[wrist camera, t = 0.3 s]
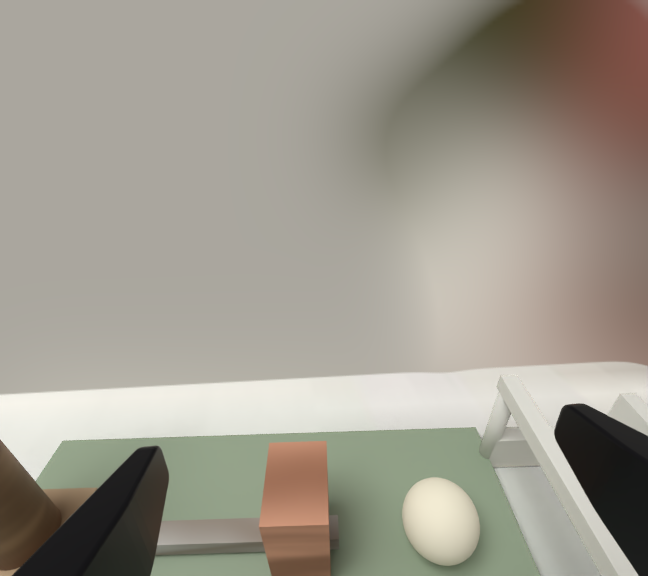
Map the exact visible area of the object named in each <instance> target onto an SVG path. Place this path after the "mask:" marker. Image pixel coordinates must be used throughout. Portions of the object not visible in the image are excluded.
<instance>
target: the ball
mask: <svg viewBox="0 0 648 576" xmlns="http://www.w3.org/2000/svg"><path fill="white" fill-rule="evenodd" d="M402 520H403V526H404V530H405V532H406V535H407V537H408V539H409V541H410V543H411V544H412V546H413V547H414V548H415V550H416V551H417V552H418V553H419V554H420V555H422V556H423V557H424V558H425V559H427V560H429V561H430V562H433V563H435V564H438V565H443V566H452V565H457V564H460V563H462V562H464V561H465V560H466V559H468V558H469V557H470V556H471V555H472V553H473V552H474V550H475V549H476V547H477V544H478V541H479V537H480V522H479V517H478V513H477V510H476V508H475V506H474V504H473V502H472V500H471V499H470V497H469V496H468V495H467V493H466V492H465V491H464V490H463V489H462V488H460V487H459V486H458V485H456V484H455V483H453V482H451V481H449V480H447V479H443V478H438V477H431V478H426V479H423V480H420V481H419V482H417V483H416V484H415V485H413V486H412V487H411V489H410V490H409V491H408V493H407V495H406V497H405V499H404V503H403V508H402Z"/></svg>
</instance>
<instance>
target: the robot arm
mask: <svg viewBox="0 0 648 576" xmlns="http://www.w3.org/2000/svg"><path fill="white" fill-rule="evenodd" d="M554 436H555V439H556V442H557V444H558V445H559V447H560V449H561V451H562V453H563V454H564V456H565V458H566V460H567V462H568V463H569V465H570V467H571V469H572V471H573V472H574V474H575V476H576V478H577V480H578V481H579V483H580V485H581V487H582V489H583V490H584V492H585V494H586V496H587V498H588V499H589V501H590V503H591V504H592V506H593V508H594V509H595V511H596V513H597V514H598V516H599V517H600V519H601V520H602V522H603V523H604V525H605V526H606V528H607V529H608V531H609V532H610V534H611V535H612V537H613V538H614V540H615V541H616V543H617V544H618V546H619V547H620V549H621V550H622V552H623V553H624V555H625V556H626V558H627V559H628V561H629V562H630V564H631V565H632V567H633V568H634V570H635V571H636V573H637V574H638V576H648V436H647V435H645V434H643V433H641V432H639V431H637V430H635V429H633V428H631V427H629V426H627V425H625V424H623V423H621V422H619V421H617V420H615V419H613V418H611V417H609V416H607V415H605V414H604V413H602V412H600V411H598V410H596V409H594V408H592V407H590V406H588V405H585V404H569V405H565V406H564V407H563V408H562V409H561V412H560V415H559V418H558V420H557V423H556V426H555V429H554ZM168 484H169V471H168V468H167V464H166V461H165V458H164V455H163V451H162V449H161V447H160V446H157V445H155V446H145V447H140V448H138V449H136V450H135V451H134V452H133V453H132V454H131V455H130V456H129V457H128V458H127V459H126V460H125V461H124V462H123V463H122V464H121V465H120V466H119V467H118V468H117V469H116V470H115V471H114V472H113V473H112V474H111V476H110V477H109V478H108V479H107V480H106V481H105V482H104V483H103V484H102V485H101V486H100V487H99V488H98V489H97V490H96V491H95V492H94V493H93V494H92V495H91V496H90V497H89V498H88V499H87V500H86V501H85V502H84V503H83V504H82V505H81V506H80V507H79V508H78V509H77V510H76V511H75V512H74V513H73V514H72V515H71V516H70V517H69V518H68V519H67V520H66V521H65V522H64V523H63V524H62V525H61V526H60V527H59V528H58V529H57V530H56V531H55V532H54V533H53V534H52V535H51V536H50V537H49V538H48V539H47V540H46V541H45V542H44V543H43V544H42V545H41V546H40V547H39V548H38V549H37V550H36V551H35V552H34V554H33V555H32V556H31V557H30V558H29V559H28V560H27V561H26V562H25V563H24V564H23V565H22V566H21V567H20V568H19V569H18V570H17V571H16V572H15V573H14V574H13V575H12V576H150V575H151V572H152V568H153V564H154V559H155V554H156V549H157V543H158V538H159V533H160V527H161V522H162V516H163V511H164V506H165V500H166V495H167V489H168Z"/></svg>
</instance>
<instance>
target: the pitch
mask: <svg viewBox="0 0 648 576" xmlns="http://www.w3.org/2000/svg"><path fill="white" fill-rule="evenodd" d="M497 389H498V390H499V393H498V396H497V398H496V401H495V404H494V407H493V410H492V413H491V416H490V419H489V422H488V424H487V427H486V430H485V433H484V436H483V439H482V441H481V439H480V436H479V434H478V432H477V429H476V427H471V428H440V429H410V430H379V431H348V432H318V433H287V434H256V435H226V436H195V437H164V438H134V439H103V440H72V441H62V443H61V444H60V446H59V447H58V449H57V450H56V452H55V453H54V455H53V456H52V458H51V459H50V461H49V462H48V464H47V465H46V467H45V468H44V470H43V471H42V473H41V474H40V476H39V477H38V478H37V480H36V481H35V482H36V483H37V484H38V485H39V486H40V488H41V489H67V488H99V487H100V486H101V485H102V484H103V483H104V482H105V481H106V480H107V479H108V478H109V477H110V476H111V474H112V473H113V472H114V471H115V470H116V469H117V468H118V467H119V466H120V465H121V464H122V463H123V462H124V461H125V460H126V459H127V458H128V457H129V456H130V455H131V454H132V453H133V452H134V451H135V450H136V449H138V448H140V447H145V446H155V445H157V446H160V447H161V449H162V451H163V455H164V458H165V461H166V464H167V468H168V471H169V484H168V489H167V495H166V500H165V506H164V511H163V516H162V521H173V520H203V519H234V518H260V514H261V506H262V498H263V489H264V481H265V473H266V465H267V457H268V449H269V443H277V442H308V441H326V442H327V468H328V495H329V515H338V528H339V549H332V550H330V564H331V576H540V574H539V571H538V569H537V567H536V565H535V562H534V560H533V558H532V555H531V553H530V551H529V549H528V546H527V544H526V542H525V539H524V537H523V535H522V532H521V530H520V528H519V526H518V523H517V521H516V519H515V516H514V514H513V512H512V510H511V507H510V505H509V503H508V500H507V498H506V496H505V494H504V491H503V489H502V487H501V484H500V482H499V480H498V477H497V475H496V473H495V471H494V468H493V467H523V466H541V468H542V470H543V471H544V473H545V475H546V477H547V479H548V480H549V482H550V484H551V486H552V488H553V489H554V491H555V493H556V495H557V497H558V498H559V500H560V502H561V504H562V506H563V507H564V509H565V511H566V513H567V515H568V516H569V518H570V520H571V522H572V524H573V525H574V527H575V529H576V531H577V533H578V534H579V536H580V538H581V540H582V542H583V543H584V545H585V547H586V549H587V551H588V552H589V554H590V556H591V558H592V560H593V561H594V563H595V565H596V567H597V569H598V570H599V572H600V574H601V576H638V574H637V573H636V571H635V570H634V568H633V567H632V565H631V564H630V562H629V561H628V559H627V558H626V556H625V555H624V553H623V552H622V550H621V549H620V547H619V546H618V544H617V543H616V541H615V540H614V538H613V537H612V535H611V534H610V532H609V531H608V529H607V528H606V526H605V525H604V523H603V522H602V520H601V519H600V517H599V516H598V514H597V513H596V511H595V509H594V508H593V506H592V504H591V503H590V501H589V499H588V498H587V496H586V494H585V492H584V490H583V489H582V487H581V485H580V483H579V481H578V480H577V478H576V476H575V474H574V472H573V471H572V469H571V467H570V465H569V463H568V462H567V460H566V458H565V456H564V454H563V453H562V451H561V449H560V447H559V445H558V444H557V442H556V439H555V436H554V429H555V426H550V425H549V423H548V422H547V420H546V419H545V417H544V416H543V414H542V412H541V411H540V409H539V408H538V406H537V405H536V403H535V402H534V400H533V398H532V397H531V395H530V394H529V392H528V391H527V389H526V388H525V386H524V384H523V383H522V381H521V380H520V378H519V377H518V375H500V378H499V381H498V384H497ZM511 414H512V416H513V417H514V419H515V421H516V423H517V425H518V426H519V427H506V425H507V422H508V420H509V417H510V415H511ZM607 416H609V417H611V418H613V419H615V420H617V421H619V422H621V423H623V424H625V425H627V426H629V427H631V428H633V429H635V430H637V431H639V432H641V433H643V434H645V435H647V436H648V405H647V404H646V403H645V402H644V401H643V400H642V399H641V398H640V397H639V396H638V395H637V394H636V393H629V394H620V395H619V397H618V398H617V400H616V401H615V403H614V405H613V406H612V408H611V409H610V411H609V413H608V414H607ZM431 477H438V478H443V479H447V480H449V481H451V482H453V483H455V484H456V485H458V486H459V487H460V488H462V489H463V490H464V491H465V492H466V493H467V495H468V496H469V497H470V499H471V500H472V502H473V504H474V506H475V508H476V510H477V513H478V517H479V522H480V537H479V541H478V544H477V547H476V549H475V550H474V552H473V553H472V555H471V556H470V557H469V558H468V559H466V560H465V561H464V562H462V563H460V564H457V565H452V566H443V565H438V564H435V563H433V562H430V561H429V560H427V559H425V558H424V557H423V556H422V555H420V554H419V553H418V552H417V551H416V550H415V548H414V547H413V546H412V544H411V543H410V541H409V539H408V537H407V535H406V532H405V530H404V526H403V520H402V508H403V503H404V499H405V497H406V495H407V493H408V491H409V490H410V489H411V487H412V486H413V485H415V484H416V483H417V482H419V481H420V480H423V479H426V478H431ZM150 576H271V572H270V568H269V564H268V560H267V556H266V553H265V552H241V553H210V554H180V555H155V559H154V564H153V568H152V572H151V575H150Z"/></svg>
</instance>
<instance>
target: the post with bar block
mask: <svg viewBox="0 0 648 576" xmlns="http://www.w3.org/2000/svg"><path fill="white" fill-rule="evenodd" d="M97 489H98V488H67V489H41V488H40V486H39V485H38V484H37V483H36V482H35V480H34V479H33V478H32V477H31V476H30V474H29V473H28V472H27V471H26V470H25V469H24V467H23V466H22V465H21V464H20V463H19V461H18V460H17V459H16V458H15V457H14V455H13V454H12V453H11V452H10V451H9V450H8V448H7V447H6V446H5V445H4V444H3V442H2V441H1V440H0V576H12V575H13V574H14V573H15V572H16V571H17V570H18V569H19V568H20V567H21V566H22V565H23V564H24V563H25V562H26V561H27V560H28V559H29V558H30V557H31V556H32V555H33V554H34V552H35V551H36V550H37V549H38V548H39V547H40V546H41V545H42V544H43V543H44V542H45V541H46V540H47V539H48V538H49V537H50V536H51V535H52V534H53V533H54V532H55V531H56V530H57V529H58V528H59V527H60V526H61V525H62V524H63V523H64V522H65V521H66V520H67V519H68V518H69V517H70V516H71V515H72V514H73V513H74V512H75V511H76V510H77V509H78V508H79V507H80V506H81V505H82V504H83V503H84V502H85V501H86V500H87V499H88V498H89V497H90V496H91V495H92V494H93V493H94V492H95V491H96V490H97ZM332 549H339V528H338V515H329V495H328V468H327V442H326V441H308V442H277V443H269V449H268V457H267V465H266V473H265V481H264V489H263V498H262V506H261V514H260V518H234V519H203V520H173V521H162V522H161V527H160V533H159V538H158V543H157V549H156V554H155V555H180V554H210V553H241V552H265V553H266V556H267V560H268V564H269V568H270V572H271V576H331V564H330V550H332Z"/></svg>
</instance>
